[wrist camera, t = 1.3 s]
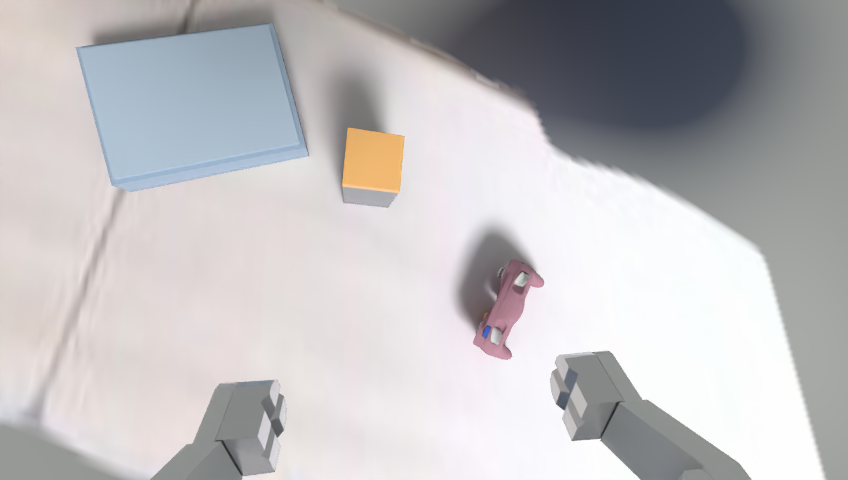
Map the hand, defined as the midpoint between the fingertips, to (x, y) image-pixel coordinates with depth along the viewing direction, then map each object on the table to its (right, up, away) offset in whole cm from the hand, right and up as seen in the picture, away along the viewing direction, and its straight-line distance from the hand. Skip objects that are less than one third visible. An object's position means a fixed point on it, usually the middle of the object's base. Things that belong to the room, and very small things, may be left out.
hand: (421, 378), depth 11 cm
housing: (-6, +10, +27) cm, 29 cm away
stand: (-21, +16, +24) cm, 36 cm away
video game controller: (+8, -3, +29) cm, 31 cm away
